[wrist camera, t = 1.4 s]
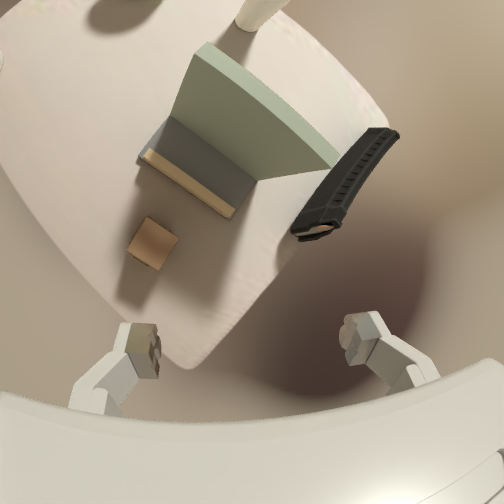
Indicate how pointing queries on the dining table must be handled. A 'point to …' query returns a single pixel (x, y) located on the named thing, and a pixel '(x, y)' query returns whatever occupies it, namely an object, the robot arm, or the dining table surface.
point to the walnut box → (152, 243)
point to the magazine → (342, 185)
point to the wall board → (231, 134)
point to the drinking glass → (257, 13)
